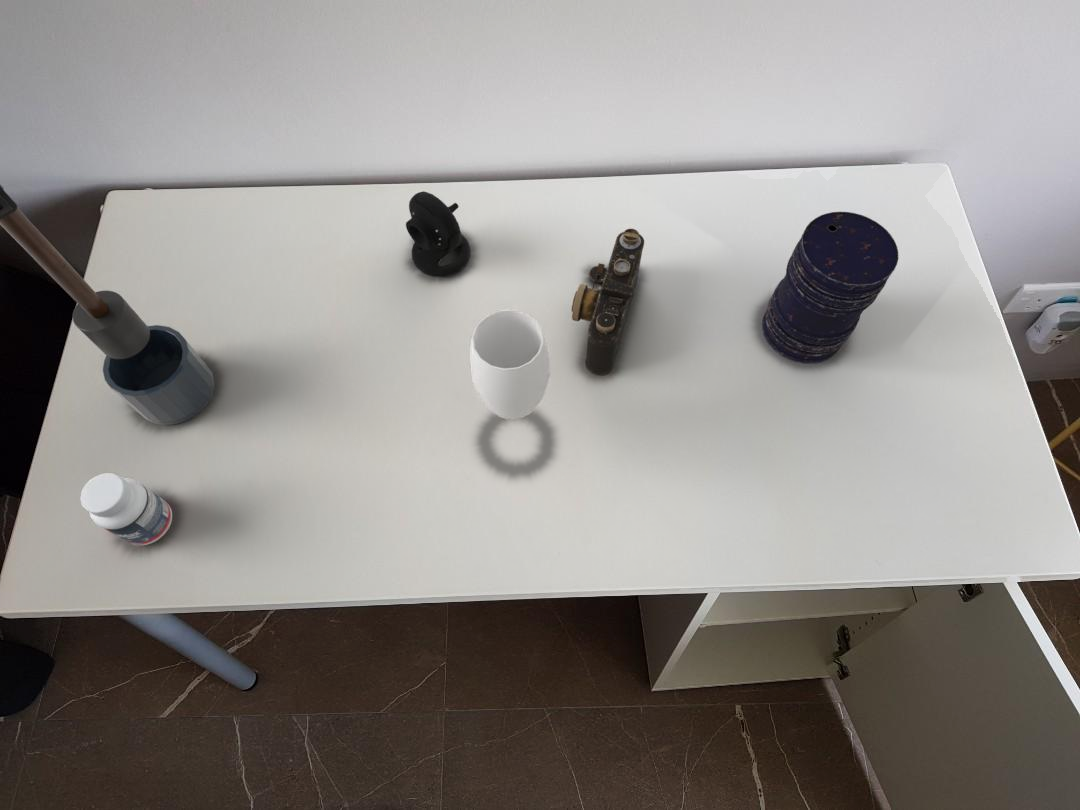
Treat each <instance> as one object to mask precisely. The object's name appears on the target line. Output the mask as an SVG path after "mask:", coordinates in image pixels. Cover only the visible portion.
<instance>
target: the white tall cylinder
mask: <svg viewBox="0 0 1080 810" xmlns="http://www.w3.org/2000/svg"><path fill="white" fill-rule="evenodd" d="M470 339H471V340H470V347H469V359H470V370H471V379H472V380H471V381H472V385H473V387H474V389H475V390H476V392H477V395H478V396H479V398H480V400H481V401H482V403H483V404H484V406H485V407H486V408H487V409H488V410H489V411H490V412H491V413H493V414H494V415H496V416H497V417H499V418H502V419H506V420H518V419H519V420H521V419H522V418H524V417H527V416H528V415H530V414H532V412H533V411H534V410H535V409H536V408H537V407H538V406H539V404H540V403H541V402H542V400H543V398H544V395H545V391H546V389H547V386H548V383H549V379H550V376H551V368H550V355H549V349H548V344H547V340H546V337H545V333H544V330H543V328H542V326H541V325H540V323H539V322H538V321H537V319H536V318H534V317H533V316H532V315H530V314H528V313H526V312H525V311H521V310H515V309H513V308H512V309H511V308H509V309H504V310H503V309H502V310H501V309H500V310H496V311H494V312H492V313H489V314H487V315H485V316H483V318H482V319H481V320H480V321H479V322H478V323H477V324H476V325H475V327H474V330H473V333H472V335H471V338H470Z"/></svg>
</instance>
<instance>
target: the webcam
mask: <svg viewBox="0 0 1080 810" xmlns="http://www.w3.org/2000/svg"><path fill="white" fill-rule="evenodd" d="M458 208H459V204H458V203H457V202H454V203H452V204H450V205H449V206H448V205H447V204H446V203H445V202H444V201H443V200H442V199H440V198H439V197H437V196H435V194H433V193H430V192H427V191H424V190H423V191H419V192H417V193H415V194H414V195H413V196H412V197H411V198H410V200H409V202H408V209H409V214H410V216H411V217H410V219H408V220H407V221H406V222H405V228H406V231H407V233H408V235H409V236H410V238H411V239H412V240H413V244H412V247H411V260H412V262H413V264H414V266H415V267H416V269H418V271H420V272H421V273H423V274H425V275H427V276H429V277H437V278H439V277H440V278H441V277H450V276H452V275H455V274H457V273H458V272H460V271H462V270H463V269H464V268H465V267H466V265H467V264H468V263H469V260H470V257H471V246H470V243H469V241H468V239H467V238H466V237H465V236H464V235H463V234H462V232H461V231H462V230H461V227H460V225H459V222H458V220H457V219H456V216H455V215H454V212H455V211H456V210H458ZM455 249H458V255H457V256H456V258H455V259H454V260H452V261H451V262H449V263H446V264H440V262H441V261H442V259H444V258H445V256H447V255H448V254H449V253H450V252H452V251H454V250H455Z"/></svg>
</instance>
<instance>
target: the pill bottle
mask: <svg viewBox="0 0 1080 810" xmlns="http://www.w3.org/2000/svg"><path fill="white" fill-rule="evenodd" d="M80 503H81V505H82V507H83V509H85V510H86V511H87V512H88V513H89V516H90V518H91V520H92V521H93V522H94V523H95V524H96V525H97V526H99V527H100V528H101V529H104V530H106V531H107V532H109V533H111V534H113V535H114V536H116V537H119V539H122V540H123V541H125V542H127V543H129V544H130V545H134V546H147V545H151V544H153V543H156V542H157V541H159V540H160V539H161V538H162V537H164V535H165V534H166V533H167V532H168V530H169V529H170V527H171V524H172V522H173V510H172V508H171V506H170V505H169V503H168V502H166V501H165V499H163V498H162V497H160V496H159V495H157V494H156V493H154V492H153V491H152V490H150V489H149V488H147V487H146V486H145V485H144V484H142V483H141V482H139V481H138V480H136V479H133V478H130V477H121V476H119V475H118V474H116V473H113V472H104V473H100V474H98V475H96V476H94V477H92V478H91V479H90V480H88V482H86V483H85V485H84V486H83V488H82V490H81V492H80Z"/></svg>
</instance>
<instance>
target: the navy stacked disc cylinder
mask: <svg viewBox="0 0 1080 810" xmlns="http://www.w3.org/2000/svg"><path fill="white" fill-rule="evenodd" d="M898 261H899V249H898V245H897V243H896V241H895V239H894V237H893V235H892V234H891V233H890V232H889V231H888V230H887V229H886V228H885V227H884V226H883V225H881V224H880V223H878V221H876V220H874V219H872V218H870V217H868V216H865V215H863V214H859V213H856V212H851V211H832V212H831V211H830V212H827V213H823V214H820V215H818V216H817V217H815V218H814V219H812V220H810V222H809V223H808V224H807V226H806V227H805V229H804V230H803V232H802V234H801V236H800V239H799V240H798V242H796V245H795V247H794V249H793V251H792V253H791V256H790V257H789V259H788V261H787V265H786V270H785V271H786V272H785V275H784V277H783V278H782V279H781V280H780V281H779V282H778V284H777V285H776V286H775V289H774V291H773V293H772V295H771V297H770V299H769V301H768V304H767V308H766V310H765V312H764V313H763V316H762V320H761V328H762V329H761V330H762V334H763V336H764V339H765V341H766V342H767V344H768V345H769V346H770V347H771V348H772V350H774V352H776V353H777V354H778V355H780V356H781V357H783V358H785V359H786V360H789V361H792V362H795V363H799V364H807V365H811V364H818V363H822V362H826V361H828V360H829V359H831V358H833V357H834V356H835V355H836V354H837V353H838V352H839V350H840V349H841V348H842V346H843V345H844V344H845V343H847V341H848V340H849V338H850V337H851V335H852V333H854V331H855V329H856V328H857V325H858V324H859V321H860V320H861V319H860V318H861V315H862V313H863V312H864V311H865V310H866V309H868V308H869V307H870V306H871V305H873V304H874V302H875V301H876V299H878V296H879V295H880V293H881V291H882V290H883V289H884V288H885V286H886V284H887V281H888V280H889V278H890V277H891V275H892V274H893V273H894V272H895V270H896V267H897V265H898Z"/></svg>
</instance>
